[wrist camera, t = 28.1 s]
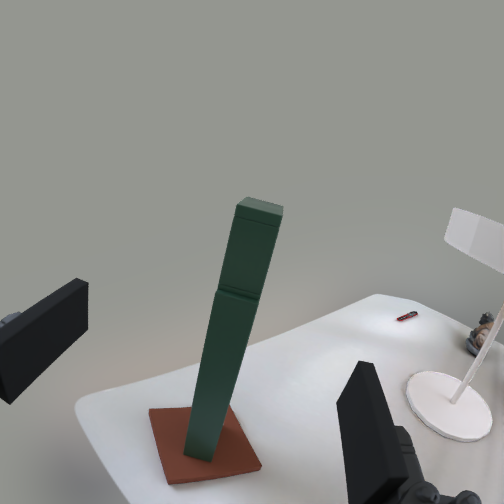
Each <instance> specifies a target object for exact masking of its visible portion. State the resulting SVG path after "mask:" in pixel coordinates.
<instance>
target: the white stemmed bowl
mask: <svg viewBox="0 0 504 504" xmlns="http://www.w3.org/2000/svg"><path fill="white" fill-rule="evenodd" d="M444 240H445V241H446V242H447V243H448V244H450V245H451V246H453V247H455V248H457V249H458V250H460V251H462V252H463V253H465V254H467V255H469V256H471V257H472V258H474V259H476V260H478V261H480V262H482V263H484V264H486V265H488V266H489V267H491V268H493V269H495V270H497V271H499V272H500V273H502V274H504V225H503V224H500V223H498V222H495V221H493V220H490V219H488V218H485V217H482V216H480V215H477V214H474V213H471V212H468V211H465V210H463V209H459V208H453V211H452V214H451V218H450V221H449V224H448V227H447V231H446V234H445V237H444ZM503 321H504V303H503V305H502V307H501V310H500V312H499V314H498V316H497V318H496V320H495V322H494V325H493V327H492V329H491V331H490V333H489V335H488V337H487V339H486V340H485V342H484V344H483V346H482V348H481V350H480V352H479V354H478V355H477V357H476V359H475V361H474V362H473V364H472V366H471V368H470V369H469V371H468V373H467V374H466V376H465V378H464V379H463V381H460V380H459V379H457V378H455V377H452V376H449V375H447V374H444V373H440V372H432V371H425V372H420V373H416V374H415V375H414V376H413V377H412V378H411V379H410V380H409V381H408V383H407V390H406V396H407V398H408V401H409V403H410V406H411V408H412V410H413V411H414V412H415V413H416V414H417V416H418V417H419V418H420V419H421V420H422V421H423V422H424V423H425V425H427V426H428V427H430V428H431V429H433V430H434V431H436V432H438V433H439V434H441V435H442V436H444V437H447V438H450V439H453V440H457V441H460V442H471V441H478V440H480V439H481V438H483V437H484V436H485V435H487V434H488V433H489V431H490V428H491V425H492V422H493V420H492V416H491V412H490V409H489V407H488V406H487V404H486V402H485V401H484V399H483V398H482V397H481V396H480V395H479V394H478V393H477V392H476V391H475V390H474V389H473V388H471V387H470V386H469V385H468V384H469V383H470V381H471V379H472V378H473V376H474V374H475V373H476V371H477V369H478V368H479V366H480V364H481V363H482V361H483V359H484V357H485V356H486V354H487V352H488V350H489V348H490V346H491V344H492V343H493V341H494V339H495V337H496V335H497V333H498V331H499V329H500V327H501V325H502V323H503Z"/></svg>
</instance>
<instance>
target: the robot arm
mask: <svg viewBox="0 0 504 504" xmlns="http://www.w3.org/2000/svg"><path fill="white" fill-rule="evenodd" d="M87 330H88V282H85V281H83V280H80V279H78V278H75V279H74V280H72V281H71V282H69V283H67V284H66V285H64V286H63V287H61V288H60V289H58V290H56V291H55V292H53V293H52V294H50V295H49V296H47V297H46V298H44V299H42V300H41V301H39V302H38V303H36V304H35V305H33V306H32V307H30V308H29V309H27V310H26V311H24V312H23V313H20V312H17V313H13V314H10V315H8V316H7V317H5V318H3V319H2V320H1V321H0V398H1V399H2V400H4V401H5V402H6V403H8V404H9V405H10V404H11V403H12V402H13V401H14V400H15V399H16V398H17V397H18V396H19V395H20V394H21V393H22V392H23V391H24V390H25V389H26V388H27V387H28V386H29V385H30V384H31V383H32V382H33V381H34V380H35V379H36V378H37V377H38V376H39V375H41V373H43V372H44V371H45V370H46V369H47V368H48V367H49V366H50V365H51V364H52V363H53V362H54V361H55V360H56V359H57V358H58V357H59V356H60V355H61V354H62V353H63V352H64V351H66V349H68V348H69V347H70V346H71V345H72V344H73V343H74V342H75V341H76V340H77V339H78V338H79V337H81V336H82V335H83V334H84V333H85V332H86V331H87ZM336 405H337V412H338V419H339V426H340V433H341V441H342V448H343V456H344V465H345V473H346V483H347V492H348V502H349V504H481V500H480V498H479V496H478V495H477V494H476V493H474V492H472V491H467V490H465V491H462V492H461V493H460V494H458V495H457V496H456V497H450V496H445V495H440V494H439V492H438V490H437V488H436V487H435V486H434V485H432V484H431V483H429V482H426V481H425V480H424V477H423V474H422V471H421V467H420V464H419V461H418V458H417V455H416V454H415V449H414V447H413V443H412V440H411V437H410V435H409V433H408V432H407V431H406V430H405V428H404V427H403V426H394V423H393V420H392V417H391V414H390V411H389V408H388V405H387V402H386V399H385V396H384V393H383V390H382V387H381V384H380V381H379V378H378V375H377V373H376V370H375V367H374V364H373V363H369V362H364V361H358V363H357V365H356V367H355V369H354V371H353V373H352V375H351V377H350V379H349V380H348V382H347V384H346V386H345V388H344V390H343V392H342V393H341V395H340V397H339V399H338V401H337V402H336Z"/></svg>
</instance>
